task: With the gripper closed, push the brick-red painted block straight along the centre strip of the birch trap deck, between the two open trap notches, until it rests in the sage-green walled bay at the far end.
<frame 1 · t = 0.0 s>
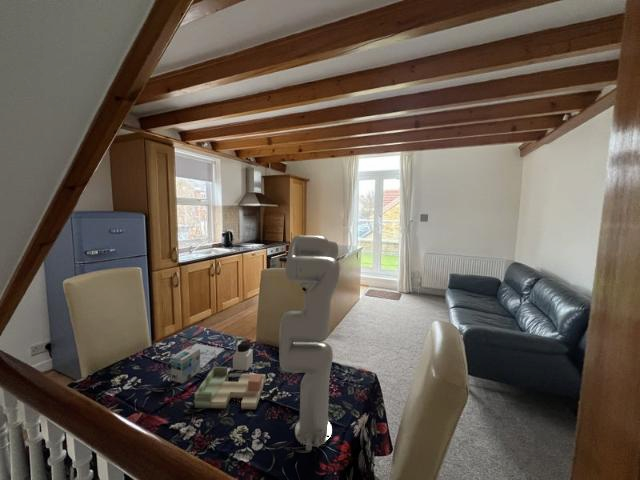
hand: (317, 300, 132), 31 cm above the table, fingers open, 9 cm apart
trap deck: (233, 392, 109), on the table
white patterned board: (199, 357, 136), on the table
light bulb box: (186, 375, 119), on the table
block: (255, 387, 109), point 2 cm above the table, touching trap deck
medicine bottle: (242, 366, 128), on the table
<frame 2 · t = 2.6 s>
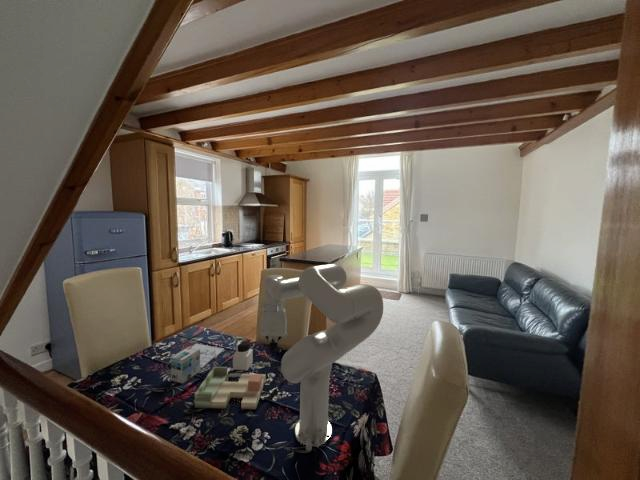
hand: (273, 350, 107), 18 cm above the table, fingers closed
nothing on the table moved.
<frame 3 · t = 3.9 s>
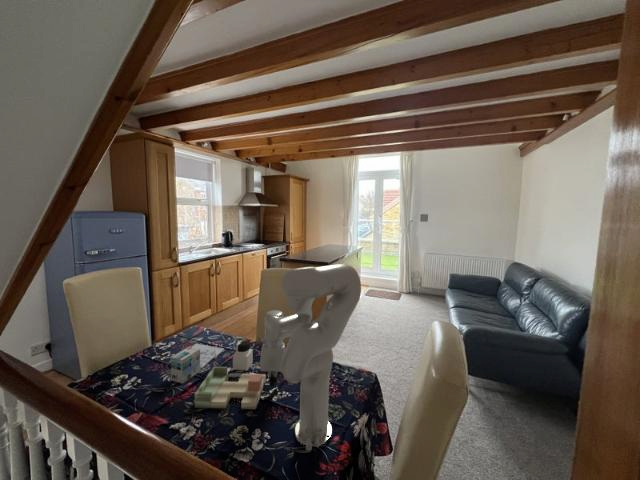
hand: (272, 384, 109), 4 cm above the table, fingers closed
nothing on the table moved.
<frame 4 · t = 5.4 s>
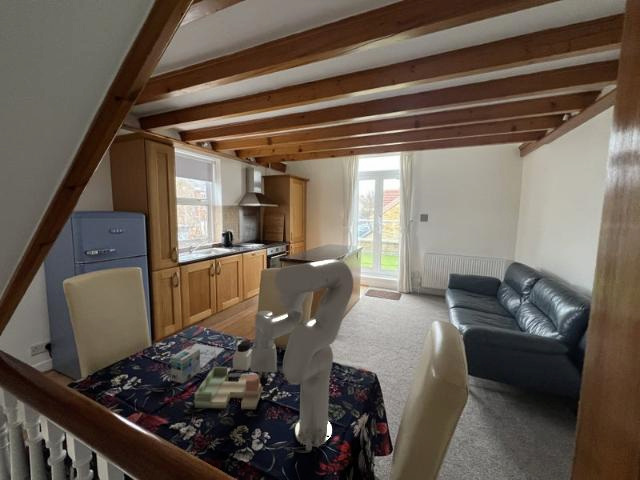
hand: (263, 384, 109), 4 cm above the table, fingers closed
block: (252, 387, 109), point 3 cm above the table, touching gripper, trap deck
everything else where it was.
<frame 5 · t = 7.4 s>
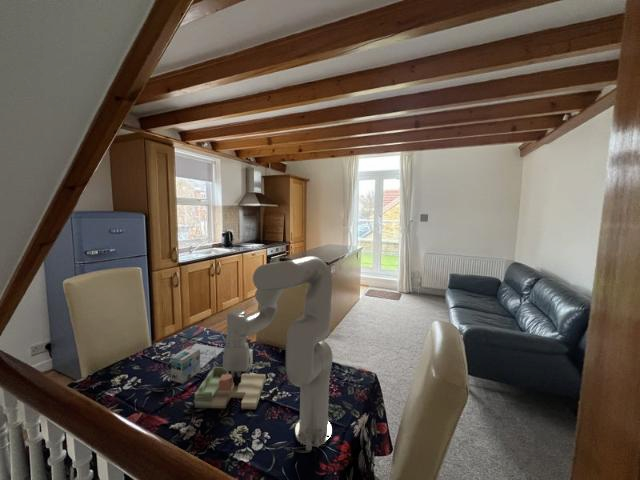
hand: (237, 384, 108), 4 cm above the table, fingers closed
block: (226, 386, 108), point 2 cm above the table, touching gripper, trap deck
everything else where it was.
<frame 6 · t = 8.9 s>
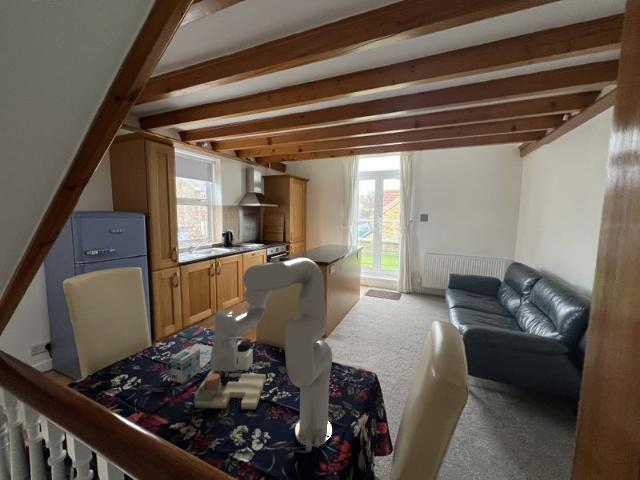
hand: (224, 384, 108), 4 cm above the table, fingers closed
block: (213, 386, 108), point 2 cm above the table, touching gripper, trap deck
everything else where it was.
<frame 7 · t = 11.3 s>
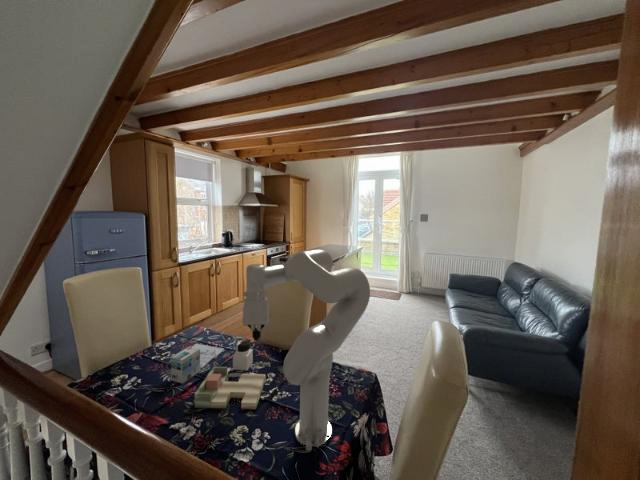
hand: (256, 339, 107), 23 cm above the table, fingers closed
block: (213, 386, 108), point 2 cm above the table, touching trap deck
everything else where it was.
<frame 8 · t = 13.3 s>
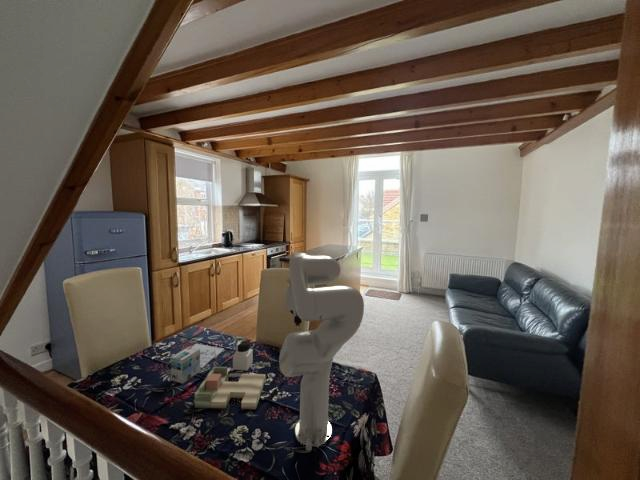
hand: (297, 324, 112), 27 cm above the table, fingers closed
nothing on the table moved.
at the end: block 0.4 cm from the target spot on the trap deck, point 2.5 cm above the trap deck's base; block tilted 0°; block touching trap deck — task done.
